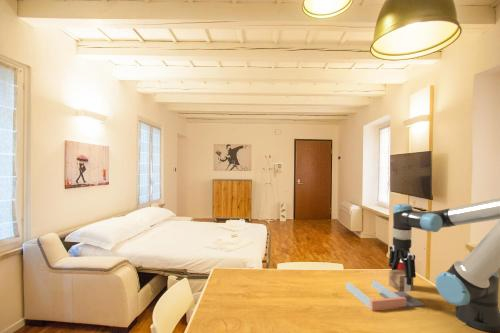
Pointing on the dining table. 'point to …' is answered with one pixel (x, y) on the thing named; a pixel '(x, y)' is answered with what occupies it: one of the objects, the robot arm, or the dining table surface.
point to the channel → (378, 304)
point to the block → (398, 279)
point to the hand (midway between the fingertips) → (401, 287)
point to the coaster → (407, 299)
